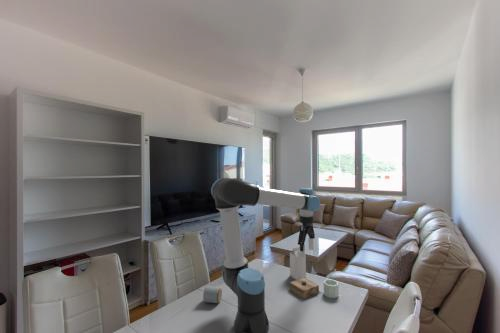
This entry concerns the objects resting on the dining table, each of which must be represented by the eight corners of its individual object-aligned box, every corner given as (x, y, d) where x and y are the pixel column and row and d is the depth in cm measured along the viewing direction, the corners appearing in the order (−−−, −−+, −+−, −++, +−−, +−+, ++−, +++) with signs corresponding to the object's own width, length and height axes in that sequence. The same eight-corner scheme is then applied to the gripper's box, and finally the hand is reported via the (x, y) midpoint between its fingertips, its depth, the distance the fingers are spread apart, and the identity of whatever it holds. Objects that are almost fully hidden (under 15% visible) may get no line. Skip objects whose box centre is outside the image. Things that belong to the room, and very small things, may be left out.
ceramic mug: (218, 306, 121) (218, 291, 121) (202, 305, 122) (202, 289, 122) (224, 295, 131) (224, 281, 131) (209, 294, 133) (209, 280, 133)
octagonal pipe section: (331, 300, 125) (331, 287, 125) (320, 293, 131) (320, 281, 131) (341, 296, 129) (341, 283, 129) (330, 290, 135) (330, 278, 135)
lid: (303, 298, 126) (303, 288, 126) (289, 289, 135) (289, 280, 135) (318, 292, 131) (318, 283, 131) (304, 284, 141) (304, 275, 141)
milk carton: (290, 276, 153) (289, 246, 153) (299, 274, 156) (298, 244, 156) (296, 281, 146) (296, 249, 146) (306, 278, 149) (305, 248, 149)
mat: (302, 301, 124) (302, 300, 124) (286, 290, 135) (286, 289, 135) (322, 293, 131) (322, 292, 131) (305, 283, 143) (305, 282, 143)
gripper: (304, 220, 124) (305, 261, 124) (319, 212, 145) (320, 247, 145) (291, 218, 128) (291, 258, 128) (307, 211, 149) (308, 245, 149)
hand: (306, 253), depth 137 cm, fingers open, 13 cm apart
